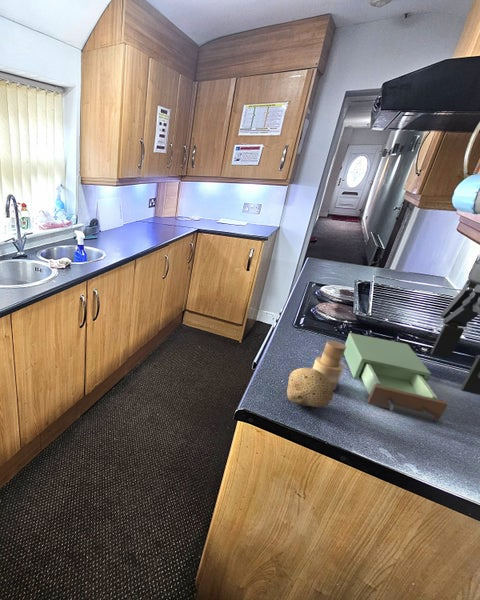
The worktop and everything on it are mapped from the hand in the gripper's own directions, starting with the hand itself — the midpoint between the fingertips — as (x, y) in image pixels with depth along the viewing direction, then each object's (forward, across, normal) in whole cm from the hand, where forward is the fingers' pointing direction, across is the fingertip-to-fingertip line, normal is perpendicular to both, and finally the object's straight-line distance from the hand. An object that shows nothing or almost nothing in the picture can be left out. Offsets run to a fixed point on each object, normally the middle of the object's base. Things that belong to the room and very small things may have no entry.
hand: (454, 372), depth 61 cm
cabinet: (+18, -32, 0) cm, 37 cm away
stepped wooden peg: (+18, -15, -15) cm, 28 cm away
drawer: (+17, -17, 0) cm, 24 cm away
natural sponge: (+18, -3, -20) cm, 27 cm away
